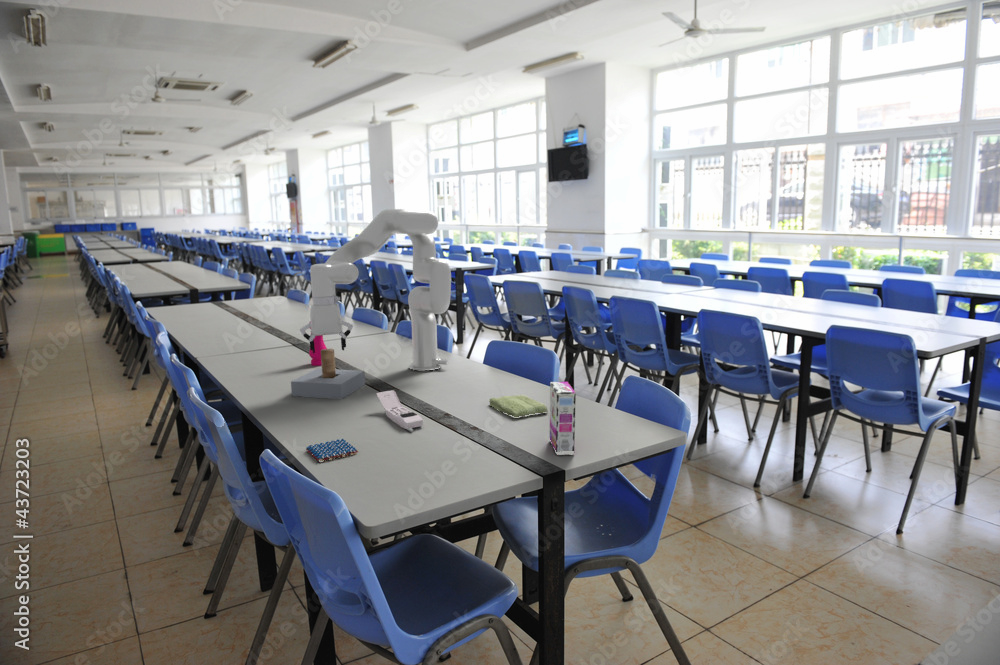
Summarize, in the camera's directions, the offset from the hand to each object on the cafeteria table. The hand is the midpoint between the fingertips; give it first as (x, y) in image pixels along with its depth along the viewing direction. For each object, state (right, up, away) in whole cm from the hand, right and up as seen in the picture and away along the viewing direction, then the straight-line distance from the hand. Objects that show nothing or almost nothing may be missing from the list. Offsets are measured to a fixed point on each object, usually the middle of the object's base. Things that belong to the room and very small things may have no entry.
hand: (328, 350), depth 222 cm
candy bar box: (+74, -24, -53) cm, 94 cm away
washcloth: (+64, -18, -20) cm, 69 cm away
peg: (0, -13, +2) cm, 14 cm away
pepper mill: (-14, -7, +40) cm, 43 cm away
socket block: (0, -13, +2) cm, 14 cm away
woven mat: (+15, -25, -54) cm, 62 cm away
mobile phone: (+29, -20, -29) cm, 45 cm away
